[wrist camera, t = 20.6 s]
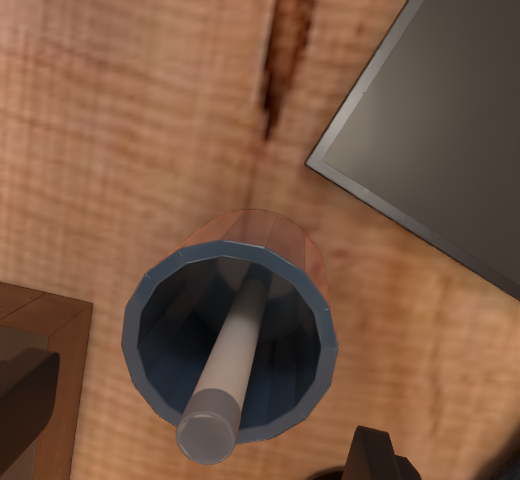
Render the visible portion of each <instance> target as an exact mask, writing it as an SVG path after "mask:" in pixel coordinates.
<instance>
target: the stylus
mask: <svg viewBox="0 0 520 480" xmlns="http://www.w3.org/2000/svg"><path fill="white" fill-rule="evenodd" d="M267 297H268V290H267V287H266V286H265V284H264V283H263V282H261V281H259V280H257V279H249V280H246V281H244V282H243V283H242V284H241V286H240V287H239V290H238V292H237V294H236V297H235V299H234V301H233V304H232V306H231V308H230V310H229V313H228V315H227V317H226V320H225V322H224V324H223V326H222V329H221V331H220V333H219V336H218V338H217V340H216V342H215V345H214V347H213V349H212V352H211V354H210V356H209V358H208V361H207V363H206V365H205V368H204V370H203V372H202V374H201V377H200V379H199V381H198V384H197V386H196V388H195V391H194V393H193V395H192V397H191V398H190V400H189V402H188V404H187V406H186V408H185V411H184V413H183V415H182V417H181V420H180V422H179V424H178V427H177V430H176V440H177V444H178V446H179V448H180V450H181V452H182V453H183V454H184V455H185V456H186V457H187V458H189V459H190V460H192V461H194V462H196V463H199V464H204V465H212V464H217V463H219V462H222V461H223V460H225V459H226V458H227V457H228V456H229V455H230V454H231V453H232V451H233V449H234V447H235V443H236V439H237V434H238V430H239V425H240V421H241V411H242V407H243V403H244V398H245V394H246V389H247V385H248V381H249V376H250V372H251V367H252V363H253V359H254V354H255V350H256V345H257V341H258V337H259V332H260V328H261V323H262V319H263V315H264V310H265V306H266V301H267Z"/></svg>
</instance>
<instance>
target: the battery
mask: <svg viewBox="0 0 520 480" xmlns="http://www.w3.org/2000/svg"><path fill="white" fill-rule="evenodd" d="M343 472H344V471H336V472H331V473H327V474H324V475H321V476H319V477H316V478H314V479H313V480H342V476H343Z"/></svg>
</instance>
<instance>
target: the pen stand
mask: <svg viewBox="0 0 520 480" xmlns="http://www.w3.org/2000/svg"><path fill="white" fill-rule="evenodd" d="M91 312H92V303H88V302H84V301H80V300H75V299H71V298H67V297H62V296H58V295H54V294H50V293H44V292H40V291H36V290H31V289H27V288H23V287H19V286H14V285H10V284H4V283H2V282H0V361H1V360H7V361H9V360H11V359H12V358H13V357H15V356H16V355H18V354H19V353H20V352H22V351H23V350H24V349H26V348H27V347H29V346H33V347H37V348H41V349H45V350H49V351H54V352H57V353H59V355H60V368H59V376H58V384H57V392H56V400H55V407H54V411H53V414H52V416H51V419H50V421H49V423H48V424H47V426H46V427H45V429H44V430H43V431H42V432H41V433H40V435H39V436H38V437H37V438H36V439H35V440H34V441H33V442H32V443H31V444H30V446H29V447H28V448H27V449H26V450H25V451H24V452H23V453H22V454H21V456H20V457H19V458H18V459H17V460H16V461H15V462H14V463H13V464H12V465H11V467H10V468H9V469H8V470H7V471H6V472H5V473H4V474H3V475H2V477H1V478H0V480H69V475H70V467H71V460H72V452H73V445H74V438H75V430H76V423H77V415H78V408H79V401H80V393H81V386H82V378H83V371H84V364H85V356H86V349H87V341H88V334H89V327H90V319H91Z"/></svg>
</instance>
